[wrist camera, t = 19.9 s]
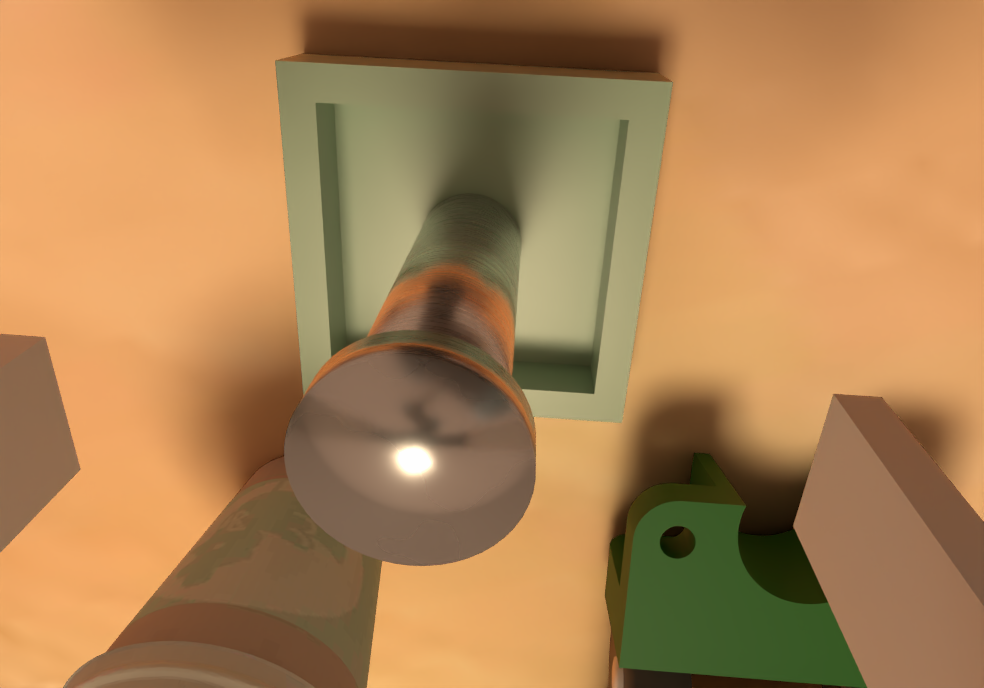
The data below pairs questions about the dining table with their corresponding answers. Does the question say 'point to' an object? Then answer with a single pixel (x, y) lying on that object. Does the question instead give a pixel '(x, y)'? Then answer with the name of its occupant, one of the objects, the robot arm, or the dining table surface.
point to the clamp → (718, 592)
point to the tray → (486, 171)
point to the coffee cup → (252, 606)
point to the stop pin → (425, 404)
